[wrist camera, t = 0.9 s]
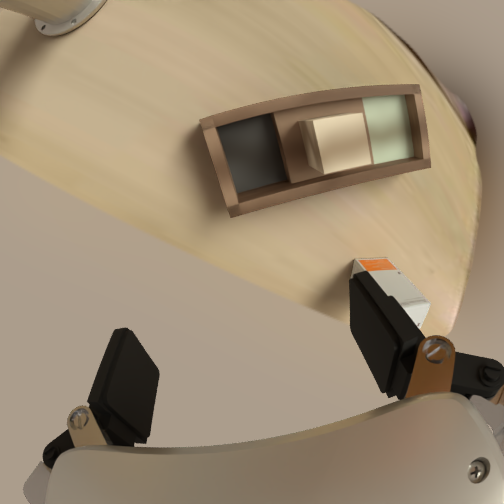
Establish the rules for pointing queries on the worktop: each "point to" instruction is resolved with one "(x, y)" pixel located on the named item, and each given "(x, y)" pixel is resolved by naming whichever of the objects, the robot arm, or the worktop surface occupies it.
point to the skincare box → (395, 286)
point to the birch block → (335, 142)
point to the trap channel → (293, 151)
